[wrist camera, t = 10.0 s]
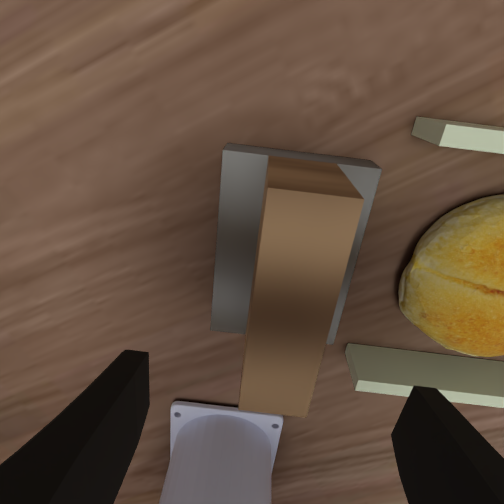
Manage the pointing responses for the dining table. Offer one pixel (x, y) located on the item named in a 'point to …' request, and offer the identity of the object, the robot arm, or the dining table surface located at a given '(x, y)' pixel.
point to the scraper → (286, 264)
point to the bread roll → (460, 279)
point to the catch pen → (422, 363)
